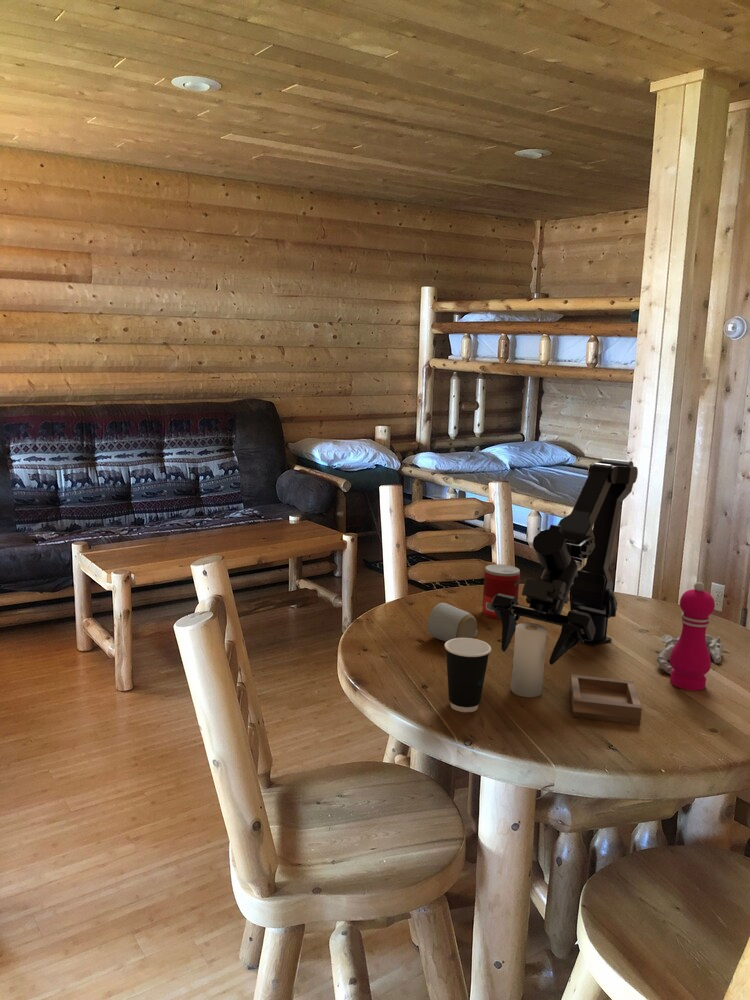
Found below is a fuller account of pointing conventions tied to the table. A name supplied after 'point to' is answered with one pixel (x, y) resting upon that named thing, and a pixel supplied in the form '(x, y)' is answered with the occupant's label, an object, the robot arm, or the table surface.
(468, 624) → the ceramic mug
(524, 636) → the paper roll
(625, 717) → the tray
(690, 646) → the pepper mill
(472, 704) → the dixie cup
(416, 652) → the table surface
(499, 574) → the canned food
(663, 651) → the seahorse
